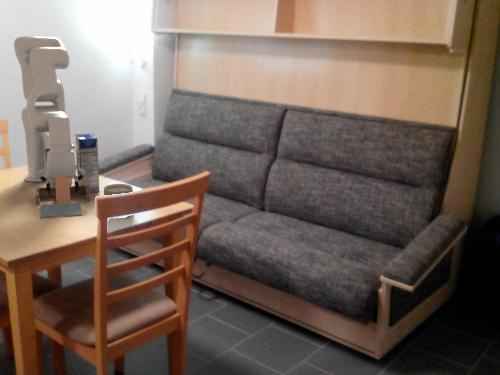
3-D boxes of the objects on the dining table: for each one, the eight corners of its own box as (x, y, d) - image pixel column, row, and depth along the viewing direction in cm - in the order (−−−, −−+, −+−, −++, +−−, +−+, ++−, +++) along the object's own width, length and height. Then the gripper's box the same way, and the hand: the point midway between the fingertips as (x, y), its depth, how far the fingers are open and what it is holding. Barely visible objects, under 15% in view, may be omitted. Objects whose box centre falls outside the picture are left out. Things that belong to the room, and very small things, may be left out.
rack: (36, 197, 208) (36, 187, 206) (88, 194, 214) (88, 185, 213) (35, 205, 199) (35, 195, 198) (90, 202, 205) (89, 192, 204)
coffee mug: (101, 211, 195) (100, 185, 192) (128, 208, 200) (127, 182, 197) (112, 223, 184) (111, 195, 181) (140, 219, 189) (139, 192, 186)
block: (56, 198, 208) (54, 173, 205) (70, 198, 209) (68, 173, 206) (56, 203, 202) (54, 177, 199) (70, 202, 204) (69, 177, 201)
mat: (40, 205, 198) (40, 204, 198) (80, 203, 203) (80, 202, 203) (39, 218, 186) (39, 216, 186) (82, 215, 190) (81, 214, 190)
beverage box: (82, 193, 215) (79, 139, 209) (78, 186, 225) (75, 134, 219) (99, 192, 218) (97, 138, 212) (94, 184, 228) (92, 133, 222)
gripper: (84, 145, 206) (86, 188, 211) (35, 147, 201) (38, 190, 205) (85, 149, 199) (87, 193, 204) (35, 151, 194) (38, 196, 198)
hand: (62, 192), depth 205 cm, fingers open, 9 cm apart
